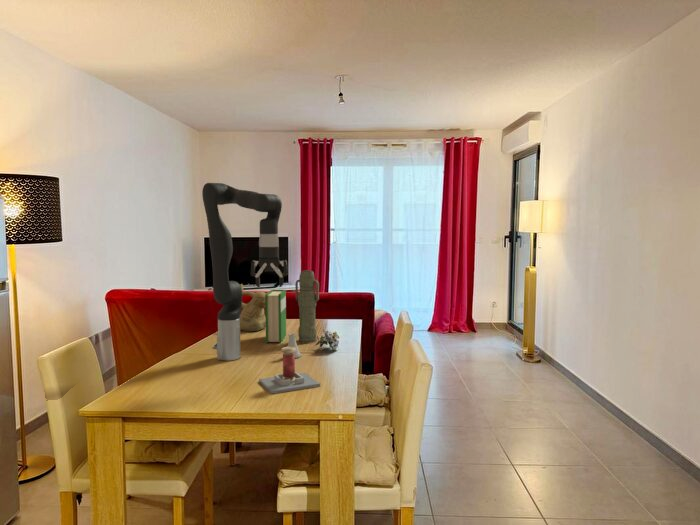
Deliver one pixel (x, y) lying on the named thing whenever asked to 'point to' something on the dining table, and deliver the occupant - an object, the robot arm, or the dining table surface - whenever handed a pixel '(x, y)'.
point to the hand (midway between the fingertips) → (269, 286)
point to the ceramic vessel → (253, 311)
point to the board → (288, 383)
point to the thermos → (307, 305)
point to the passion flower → (329, 340)
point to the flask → (293, 344)
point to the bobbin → (289, 363)
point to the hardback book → (275, 315)
